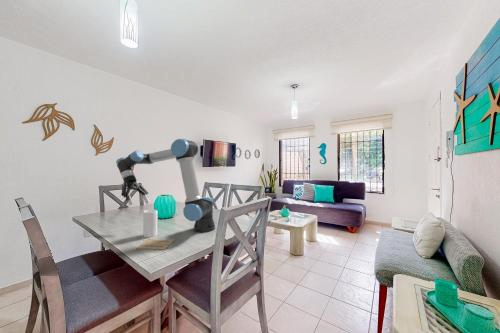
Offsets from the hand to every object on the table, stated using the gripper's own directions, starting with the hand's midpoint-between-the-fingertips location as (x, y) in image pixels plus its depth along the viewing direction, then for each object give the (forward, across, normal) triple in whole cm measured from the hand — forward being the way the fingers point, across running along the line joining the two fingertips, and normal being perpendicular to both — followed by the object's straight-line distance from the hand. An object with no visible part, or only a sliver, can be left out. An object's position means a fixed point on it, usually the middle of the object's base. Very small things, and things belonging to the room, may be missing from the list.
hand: (140, 203), depth 133 cm
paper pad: (+31, +9, +8) cm, 33 cm away
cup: (+22, -1, -3) cm, 22 cm away
